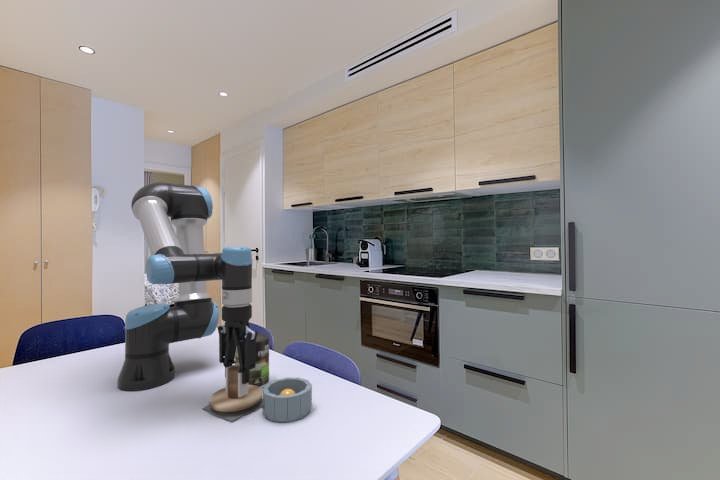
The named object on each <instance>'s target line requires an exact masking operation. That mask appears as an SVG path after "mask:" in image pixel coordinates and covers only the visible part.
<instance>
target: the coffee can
mask: <svg viewBox="0 0 720 480" xmlns="http://www.w3.org/2000/svg"><path fill="white" fill-rule="evenodd" d="M241 341H243V340H241ZM234 361H236V363H235V364H234V365H236V366H237V365H239V357H238V350H237V346H236V352H235V359H234ZM267 383H270V335H268V334H265V333H257V337H256V366H255V368H253V369H251V370H250V371H249V383H248V385H255V386H258V387H260V388H261V389H263V388H264V387H265V385H266V384H267Z"/></svg>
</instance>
